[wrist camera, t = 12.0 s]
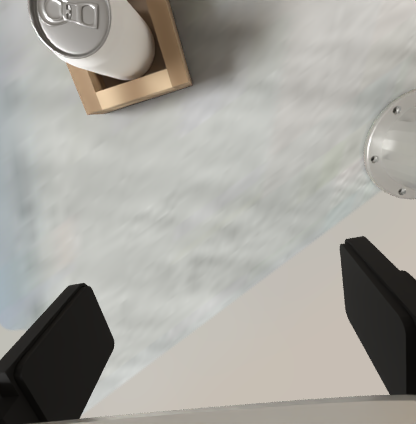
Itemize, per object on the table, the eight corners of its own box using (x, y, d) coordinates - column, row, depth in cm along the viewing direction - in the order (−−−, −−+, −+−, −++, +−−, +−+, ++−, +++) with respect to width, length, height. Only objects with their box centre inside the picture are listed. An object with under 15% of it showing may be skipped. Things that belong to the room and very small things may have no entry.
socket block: (160, -30, 29) (150, -54, 24) (192, 85, 32) (188, 81, 28) (63, 8, 30) (37, -9, 26) (104, 113, 34) (87, 114, 29)
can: (96, 6, 29) (16, -58, 18) (158, 17, 29) (119, -41, 18) (95, 76, 31) (24, 57, 20) (153, 85, 31) (115, 72, 20)
